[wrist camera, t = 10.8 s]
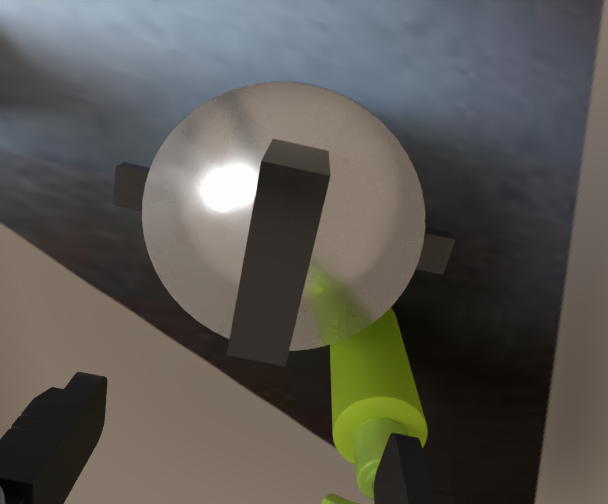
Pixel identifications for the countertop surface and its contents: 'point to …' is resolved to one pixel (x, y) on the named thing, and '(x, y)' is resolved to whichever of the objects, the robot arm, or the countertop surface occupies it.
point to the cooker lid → (283, 218)
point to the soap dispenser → (372, 398)
